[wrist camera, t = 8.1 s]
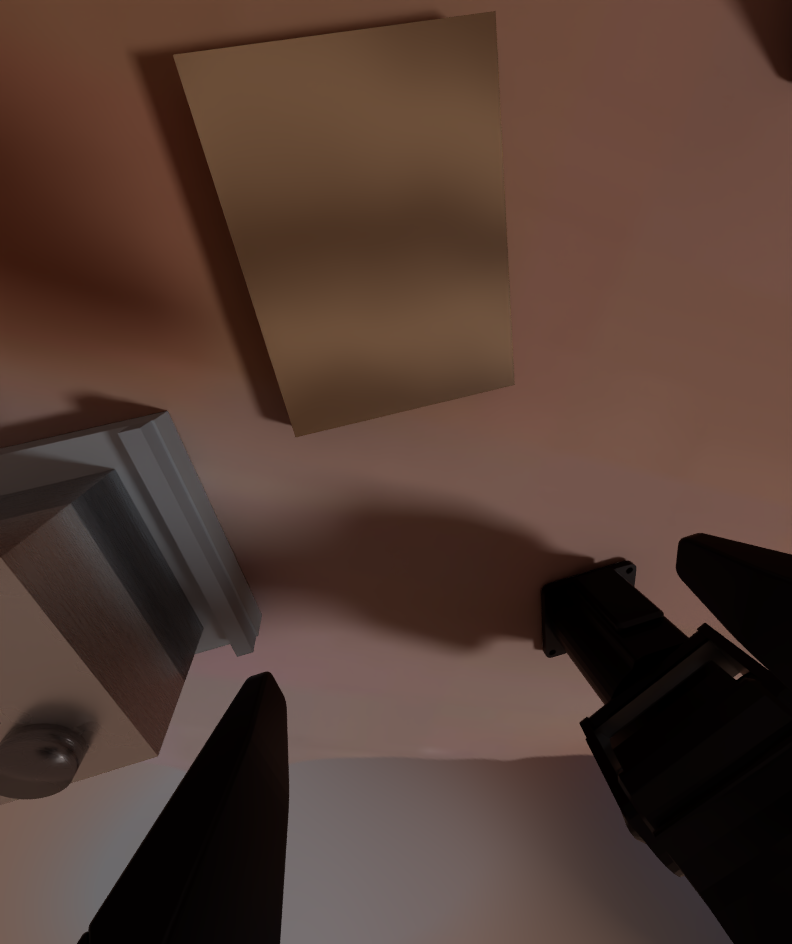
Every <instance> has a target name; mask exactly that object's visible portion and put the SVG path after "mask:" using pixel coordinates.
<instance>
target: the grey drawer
mask: <svg viewBox="0 0 792 944" xmlns="http://www.w3.org/2000/svg"><path fill="white" fill-rule="evenodd" d="M203 629H204V627H203V626H202V624H201V622H200V620H199V619H198V617H197V615H196V613H195V611H194V610H193V608H192V606H191V604H190V602H189V601H188V599H187V597H186V595H185V593H184V592H183V590H182V588H181V586H180V585H179V583H178V581H177V579H176V577H175V576H174V574H173V572H172V570H171V568H170V567H169V565H168V563H167V561H166V559H165V558H164V556H163V554H162V552H161V550H160V549H159V547H158V545H157V543H156V542H155V540H154V538H153V536H152V534H151V533H150V531H149V529H148V527H147V525H146V524H145V522H144V520H143V518H142V516H141V515H140V513H139V511H138V509H137V507H136V506H135V504H134V502H133V500H132V499H131V497H130V495H129V493H128V491H127V490H126V488H125V486H124V484H123V482H122V481H121V479H120V477H119V475H118V473H117V472H116V470H115V469H112V470H108V471H104V472H100V473H95V474H91V475H87V476H82V477H78V478H74V479H70V480H65V481H61V482H57V483H52V484H48V485H44V486H40V487H35V488H31V489H27V490H22V491H18V492H14V493H9V494H5V495H1V496H0V805H2V804H5V803H8V802H11V801H14V800H18V799H37V798H43V797H47V796H50V795H53V794H56V793H58V792H60V791H62V790H63V789H65V788H66V787H67V786H68V785H69V784H70V783H73V782H76V781H79V780H83V779H86V778H89V777H92V776H96V775H99V774H102V773H105V772H109V771H111V770H115V769H118V768H121V767H125V766H127V765H131V764H134V763H138V762H141V761H144V760H147V759H151V758H154V757H157V756H158V755H159V752H160V749H161V746H162V744H163V741H164V738H165V735H166V732H167V730H168V727H169V724H170V721H171V719H172V716H173V713H174V710H175V707H176V705H177V702H178V699H179V696H180V693H181V691H182V688H183V685H184V682H185V680H186V677H187V674H188V671H189V668H190V666H191V663H192V660H193V657H194V654H195V652H196V649H197V646H198V643H199V640H200V638H201V635H202V632H203Z"/></svg>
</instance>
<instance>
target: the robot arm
mask: <svg viewBox="0 0 792 944" xmlns="http://www.w3.org/2000/svg"><path fill="white" fill-rule="evenodd" d="M676 571H677V573H678V575H679V577H680V578H681V580H682V581H683V582H684V583H685V584H686V585H687V586H688V587H689V588H690V590H691V591H692V592H693V593H694V594H695V595H696V596H697V597H698V598H699V599H700V601H701V602H702V603H703V604H704V605H705V606H706V607H707V608H708V609H709V610H710V611H711V613H712V614H713V615H714V616H715V617H716V618H717V619H718V620H719V621H720V622H721V624H722V625H723V626H724V627H725V628H726V629H727V630H728V631H729V632H730V633H731V634H732V635H733V636H734V637H735V638H736V639H737V641H738V642H740V643H741V644H742V645H743V646H744V647H745V648H746V649H747V650H748V651H749V652H750V653H751V654H752V655H753V656H754V657H755V658H756V659H757V660H758V661H760V662H761V663H762V664H763V665H764V666H765V667H766V668H767V669H768V670H767V669H766V668H765V667H763V666H762V665H761V664H759V663H758V662H757V661H755V660H754V659H753V658H751V657H750V656H749V655H748V654H746V653H745V652H744V651H742V650H741V649H740V648H738V647H737V646H736V645H734V644H733V643H732V642H730V641H729V640H728V639H726V638H725V637H724V636H722V635H721V634H720V633H718V632H717V631H716V630H714V629H713V628H712V627H710V626H709V625H708V624H706V623H704V624H702V625H701V626H700V627H699V628H697V630H698V631H697V632H696V633H695V634H693V635H692V636H691V637H690V638H689V637H687V636H686V635H685V634H684V633H683V632H682V631H681V630H679V629H678V628H677V627H676V626H675V625H674V624H673V623H671V622H670V621H669V620H668V619H667V618H666V617H665V616H664V613H663V612H662V610H660V609H659V608H658V607H657V606H656V605H655V604H653V603H652V602H651V601H650V600H649V599H648V598H647V597H645V596H644V595H643V594H642V593H641V592H640V591H639V590H637V589H636V588H635V587H634V585H635V576H636V566H635V565H634V564H633V563H632V562H631V561H623V562H620V563H616V564H613V565H610V566H606V567H603V568H600V569H596V570H593V571H590V572H586V573H583V574H579V575H576V576H573V577H569V578H566V579H563V580H559V581H556V582H553V583H549V584H547V585H545V586H544V587H543V588H542V591H541V601H542V638H543V652H544V653H545V655H546V656H547V657H548V658H552V657H555V656H558V655H562V654H565V653H567V654H568V655H569V657H570V658H571V659H572V661H573V662H574V664H575V665H576V666H577V668H578V669H579V670H580V672H581V673H582V675H583V676H584V677H585V679H586V680H587V681H588V683H589V684H590V685H591V687H592V688H593V690H594V691H595V692H596V694H597V695H598V696H599V698H600V699H601V701H602V702H603V703H604V706H603V707H602V708H600V709H599V710H598V711H597V712H595V713H594V714H593V715H592V716H590V717H589V718H588V717H586V718H585V719H583V720H582V721H581V722H580V726H581V728H582V730H583V732H584V734H585V736H586V741H587V743H588V745H589V747H590V749H591V751H592V753H593V755H594V757H595V759H596V761H597V763H598V765H599V767H600V769H601V771H602V773H603V775H604V777H605V779H606V781H607V783H608V785H609V787H610V789H611V791H612V793H613V795H614V797H615V799H616V802H617V804H618V805H619V807H620V810H621V812H622V815H623V818H624V820H625V823H626V826H627V828H628V829H629V831H630V833H631V834H632V835H633V836H634V838H636V839H637V840H639V841H641V842H643V843H645V844H647V845H648V846H649V848H650V849H651V850H652V851H653V852H654V853H655V855H656V856H657V857H658V858H659V859H660V861H661V862H662V863H663V864H664V865H665V866H666V867H667V868H668V869H669V870H671V871H672V872H673V873H674V874H676V875H677V876H679V877H681V876H684V875H685V877H686V878H687V879H688V880H689V882H690V883H691V884H692V886H693V887H694V888H695V890H696V891H697V892H698V894H699V895H700V896H701V898H702V899H703V900H704V902H705V903H706V904H707V906H708V907H709V908H710V910H711V911H712V913H713V914H714V915H715V917H716V918H717V920H718V921H719V923H720V924H721V926H722V927H723V929H724V930H725V932H726V933H727V935H728V936H729V937H730V939H731V940H732V942H733V943H734V944H792V555H791V554H787V553H783V552H779V551H775V550H771V549H766V548H762V547H758V546H754V545H750V544H746V543H741V542H737V541H733V540H729V539H725V538H721V537H716V536H712V535H708V534H704V533H696V534H693V535H690V536H687V537H684V538H682V539H681V540H680V541H679V544H678V551H677V560H676ZM738 673H741V674H742V675H743V676H742V677H740V678H739V679H738V680H735V679H734V678H733V677H734V676H736V675H737V674H738ZM288 812H289V766H288V734H287V707H286V701H285V697H284V695H283V693H282V691H281V690H280V688H279V686H278V684H277V682H276V680H275V679H274V677H273V675H272V674H271V673H270V672H263V673H260V674H257V675H254V676H251V677H249V678H248V679H247V680H246V681H245V683H244V684H243V686H242V687H241V689H240V690H239V692H238V694H237V695H236V697H235V698H234V700H233V701H232V703H231V704H230V706H229V708H228V709H227V711H226V712H225V714H224V715H223V717H222V718H221V720H220V722H219V723H218V725H217V726H216V728H215V729H214V731H213V733H212V734H211V736H210V737H209V739H208V740H207V742H206V743H205V745H204V747H203V748H202V750H201V751H200V753H199V754H198V756H197V757H196V759H195V761H194V762H193V764H192V765H191V767H190V768H189V770H188V771H187V773H186V775H185V776H184V778H183V779H182V781H181V782H180V784H179V786H178V787H177V789H176V790H175V792H174V793H173V795H172V796H171V798H170V800H169V801H168V803H167V804H166V806H165V807H164V809H163V811H162V812H161V814H160V815H159V817H158V818H157V820H156V821H155V823H154V825H153V826H152V828H151V829H150V831H149V832H148V834H147V835H146V837H145V839H144V840H143V842H142V843H141V845H140V847H139V848H138V849H137V851H136V853H135V854H134V856H133V858H132V859H131V860H130V862H129V864H128V865H127V867H126V868H125V870H124V871H123V873H122V874H121V876H120V878H119V879H118V881H117V882H116V884H115V886H114V887H113V888H112V890H111V892H110V893H109V895H108V896H107V898H106V899H105V901H104V903H103V904H102V906H101V907H100V909H99V910H98V912H97V913H96V915H95V917H94V918H93V920H92V921H91V923H90V925H89V930H88V932H85V933H84V934H83V935H82V936H81V938H80V940H79V941H78V943H77V944H280V935H281V919H282V904H283V889H284V874H285V858H286V843H287V826H288Z"/></svg>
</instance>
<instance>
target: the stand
mask: <svg viewBox="0 0 792 944" xmlns="http://www.w3.org/2000/svg"><path fill="white" fill-rule="evenodd" d="M173 57H174V60H175V63H176V66H177V70H178V73H179V76H180V79H181V82H182V85H183V88H184V91H185V95H186V98H187V101H188V104H189V107H190V110H191V113H192V116H193V119H194V123H195V126H196V129H197V132H198V135H199V138H200V141H201V144H202V147H203V151H204V154H205V157H206V160H207V163H208V166H209V169H210V172H211V175H212V179H213V182H214V185H215V188H216V191H217V194H218V197H219V200H220V203H221V207H222V210H223V213H224V216H225V219H226V222H227V225H228V228H229V232H230V235H231V238H232V241H233V244H234V247H235V250H236V253H237V256H238V260H239V263H240V266H241V269H242V272H243V275H244V278H245V281H246V284H247V288H248V291H249V294H250V297H251V300H252V303H253V306H254V309H255V312H256V316H257V319H258V322H259V325H260V328H261V331H262V334H263V337H264V340H265V344H266V347H267V350H268V353H269V356H270V359H271V362H272V365H273V368H274V372H275V375H276V378H277V381H278V384H279V387H280V390H281V393H282V397H283V400H284V403H285V406H286V409H287V412H288V415H289V418H290V421H291V425H292V428H293V431H294V434H295V437H299V436H303V435H307V434H311V433H315V432H320V431H324V430H328V429H332V428H336V427H341V426H345V425H349V424H353V423H357V422H361V421H366V420H370V419H374V418H378V417H382V416H386V415H391V414H395V413H399V412H403V411H407V410H412V409H416V408H420V407H424V406H428V405H432V404H437V403H441V402H445V401H449V400H453V399H458V398H462V397H466V396H470V395H474V394H478V393H483V392H487V391H491V390H495V389H499V388H503V387H508V386H512V385H515V384H514V365H513V345H512V326H511V306H510V286H509V267H508V247H507V228H506V208H505V189H504V169H503V150H502V130H501V111H500V91H499V72H498V52H497V33H496V13H495V11H493V12H486V13H479V14H471V15H464V16H456V17H449V18H442V19H434V20H427V21H419V22H412V23H405V24H397V25H390V26H382V27H375V28H368V29H360V30H353V31H345V32H338V33H331V34H323V35H316V36H308V37H301V38H294V39H286V40H279V41H271V42H264V43H257V44H249V45H242V46H234V47H227V48H220V49H212V50H205V51H197V52H190V53H183V54H175V55H173Z"/></svg>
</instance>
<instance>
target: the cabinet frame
mask: <svg viewBox="0 0 792 944" xmlns="http://www.w3.org/2000/svg"><path fill="white" fill-rule="evenodd" d="M112 469H115V470H116V472H117V473H118V475H119V477H120V479H121V481H122V482H123V484H124V486H125V488H126V490H127V491H128V493H129V495H130V497H131V499H132V500H133V502H134V504H135V506H136V507H137V509H138V511H139V513H140V515H141V516H142V518H143V520H144V522H145V524H146V525H147V527H148V529H149V531H150V533H151V534H152V536H153V538H154V540H155V542H156V543H157V545H158V547H159V549H160V550H161V552H162V554H163V556H164V558H165V559H166V561H167V563H168V565H169V567H170V568H171V570H172V572H173V574H174V576H175V577H176V579H177V581H178V583H179V585H180V586H181V588H182V590H183V592H184V593H185V595H186V597H187V599H188V601H189V602H190V604H191V606H192V608H193V610H194V611H195V613H196V615H197V617H198V619H199V620H200V622H201V624H202V626H203V627H204V629H203V632H202V635H201V638H200V640H199V643H198V646H197V649H196V652H195V654H197V653H201V652H204V651H207V650H211V649H214V648H218V647H221V646H225V645H228V644H231V646H232V648H233V650H234V652H235V654H236V655H237V657H238V656H242V655H245V654H248V653H252V652H253V651H254V645H255V640H256V636H258V634H259V628H260V623H261V617H262V614H261V612H260V610H259V608H258V605H257V603H256V601H255V599H254V597H253V595H252V592H251V590H250V588H249V586H248V584H247V582H246V579H245V577H244V575H243V573H242V571H241V569H240V566H239V564H238V562H237V560H236V558H235V556H234V553H233V551H232V549H231V547H230V545H229V543H228V541H227V538H226V536H225V534H224V532H223V530H222V528H221V525H220V523H219V521H218V519H217V517H216V515H215V512H214V510H213V508H212V506H211V504H210V502H209V499H208V497H207V495H206V493H205V491H204V489H203V486H202V484H201V482H200V480H199V478H198V476H197V473H196V471H195V469H194V467H193V465H192V463H191V460H190V458H189V456H188V454H187V452H186V450H185V447H184V445H183V443H182V441H181V439H180V437H179V435H178V432H177V430H176V428H175V426H174V424H173V422H172V419H171V417H170V415H169V413H168V411H165V412H161V413H156V414H152V415H147V416H143V417H138V418H134V419H129V420H125V421H121V422H116V423H112V424H107V425H103V426H98V427H94V428H89V429H85V430H81V431H76V432H72V433H67V434H63V435H58V436H54V437H49V438H45V439H41V440H36V441H32V442H27V443H23V444H18V445H14V446H9V447H5V448H1V449H0V496H1V495H5V494H9V493H14V492H18V491H22V490H27V489H31V488H35V487H40V486H44V485H48V484H52V483H57V482H61V481H65V480H70V479H74V478H78V477H82V476H87V475H91V474H95V473H100V472H104V471H108V470H112Z"/></svg>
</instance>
